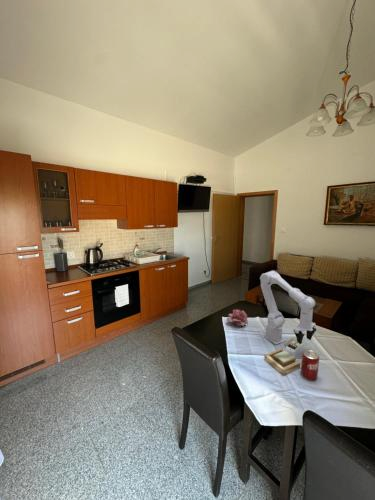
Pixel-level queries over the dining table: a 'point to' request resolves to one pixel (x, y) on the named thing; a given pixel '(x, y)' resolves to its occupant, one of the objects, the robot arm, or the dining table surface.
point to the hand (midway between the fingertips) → (304, 341)
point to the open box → (284, 358)
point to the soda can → (310, 365)
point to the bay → (277, 366)
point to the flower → (238, 318)
